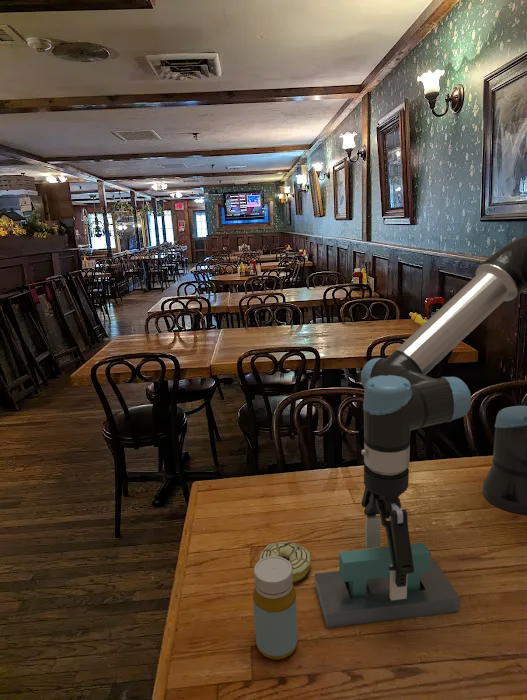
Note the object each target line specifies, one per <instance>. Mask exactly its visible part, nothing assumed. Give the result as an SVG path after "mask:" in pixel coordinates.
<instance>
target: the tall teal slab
mask: <svg viewBox="0 0 527 700" xmlns="http://www.w3.org/2000/svg"><path fill="white" fill-rule="evenodd" d="M410 545H411V552H412V559H413V566H414V573H409V574H407V592H412V591H420V573H427V572H430V560H431V555H432V554H431V552H430V550H429V548H428V547H427V545H426V544H425V543H424V542H418V543H410ZM338 560H339V561H338V564H339V567H338V568H339V569H338V571H340V574H341V577H342V579H343V582H349V596H350V599H353V598H362V597H367V596H366V580H367V579H375V578H384V577H390V570H389V567H390V565H391V564H392V559H391V554H390V549H389V546H382V547H381V546H380V547H374V548H364V549H356V550H346V551H345V550H344V551H339V552H338Z"/></svg>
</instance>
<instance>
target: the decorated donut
mask: <svg viewBox="0 0 527 700" xmlns="http://www.w3.org/2000/svg"><path fill="white" fill-rule="evenodd" d="M269 556H278V557H282V558H284V559H286V560H288V561H289V562H290V564H291V566H292V575H293V584H295V583H298V582H300V581H301V580H302V579H304V578H305V577H306V576H307V575H308V573H309V571H310V568H311V566H312V563H311V561H312V558H311V553H310V552H309V551H308V549H307V548H305V547H304V546H302V545H300V544H297V543H296V542H292V541H278V542H273V543H270V544H268V545H266V547H264V549H263V550H262V551H261V553H260V554H259V559H258V561H260V560H261V559H263V558H265V557H269Z"/></svg>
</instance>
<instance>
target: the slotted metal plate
mask: <svg viewBox="0 0 527 700" xmlns="http://www.w3.org/2000/svg"><path fill="white" fill-rule="evenodd" d="M314 587H315V591H316V595H317V598H318V603H319V605H320V609H321V612H322V615H323V619H324V622H325V627H326V629H328V628H329V629H330V628H339V627H345V626H354V625H361V624H371V623H379V622H387V621H396V620H403V619H410V618H417V617H426V616H427V617H428V616H434V615H436V616H437V615H443V614H450V613H452V614H453V613H459V612H460V600H461V598H460V596H459V594H458V593H457V591H456V590H455V588H454V586H453V585H452V583H450V581H449V579H448V578H447V576H446V575H445V573H444V572H443V569H442V568H441V567H440V564H438V562H437V561H436V559H430V572H427V573H420V591H412V592H407V599H399V600H391V599H390V577H384V578H375V579H367V580H366V597H362V598H353V599H350V596H349V582H343V579H342V577H341V574H340V571H339V570H336V571H335V570H334V571H326V572H317V573H314Z"/></svg>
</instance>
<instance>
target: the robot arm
mask: <svg viewBox="0 0 527 700" xmlns="http://www.w3.org/2000/svg"><path fill="white" fill-rule="evenodd" d="M523 292H527V234H526V235H522V236H521V237H518V238H517V239H514V240H513V241H511V242H510V243H507V244H506V245H504V246H502V247H501V248H500V249H499V250H497V251H495V252H494V253H493V254H492V255H490V256H489V257H488V258H487V259H485V260H484V261H483V262H482V263H481V264H480V265H479V266H478V267H477V269H476V270H475V276H474V277H473V278H472V279H471V280H470V281H468V282H467V284H466V285H464V286H463V287H462V288H461V289H460V290H459V291H458V292H457V293H456V294H455V295H453V297H451V298H450V299H449V300H448V301H447V302H446V303H445V304H444V305H442V306H441V308H440V309H438V310H437V311H436V312H435V313H434V314H433V315H432V316H431V317H430V318H429V319H428V320H427V321H425V322H424V323H423V324H422V325H421V326H420V327H419V328H417V330H416V331H415V332H413V333H412V334H411V335H410V336H409V337H408V338H407V339H406V340H405V341H404V342H403V343H402V344H400V346H398V347H397V348H396V349H395V350H394V351H393V352H392V353H391V354H390V355H388V356H387V357H386V358H384V357H383V358H382V357H376V358H372V359H370V360H368V361H367V362H366V363H365V364H364V366H363V368H362V370H361V373H360V382H361V384H362V387H363V388H364V392H363V393H364V394H363V403H362V405H363V438H364V439H363V443H364V444H363V446H364V448H363V449H361V450H360V451H361V455H362V456H364V457H363V458H364V459H363V462H364V465H363V484H364V486H365V487H364V492H363V495H362V499H361V506H362V508H364V510H363V511H364V515H365V525H364V526H365V532H364V534H365V549H371V548H380V547H381V526H382V527H384V528H385V534H386V539H387V543H388V547H389V549H390V554H391V559H392V564H391V565H390V567H389V570H390V599H391V600H399V599H407V574H409V573H414V566H413V559H412V552H411V545H410V544H411V539H410V531H409V524H408V523H409V521H408V517H409V516H408V515H409V514H408V511H407V509H406V508H405V509H401V508H402V503H401V499H400V496H401V495H402V494H404V493H405V492H406V491H407V490H408V489H409V477H410V476H409V475H410V469H409V466H410V452H411V441H410V440H411V431H414V430H418V429H421V428H426V427H431V426H434V425H440V424H444V423H450V422H452V421H454V420H458V419H460V418H462V417H465V416H467V414H468V413H469V411H470V410H471V406H472V393H471V391H470V389H469V387H468V385H467V384H466V383H465V382H464V381H463V380H462V379H461V378H459V377H457V376H441V377H440V378H433V377H431V376H428V375H427V374H428V373H429V372H430V371H431V370H433V368H434V367H435V366H436V365H437V364H439V363H440V362H441V361H442V360H443V359H444V358H445V357H446V356H447V355H449V353H450V352H452V350H454V348H456V347H457V346H458V345H459V344H460V343H461V342H462V341H463V340H464V339H465V338H466V337H467V336H468V335H470V333H472V332H473V331H474V330H475V329H476V328H477V327H478V326H479V325H480V324H481V323H482V322H483V321H484V320H485V319H486V318H487V317H488V316H489V315H491V313H493V312H494V311H495V310H496V309H497V308H498V307H499V306H500V305H501V304H502V303H504V302H509V301H512V300H514V299H515V298H517V296H519V294H521V293H523ZM482 485H483V486H482V494H483V496H484V498H485V499H486V501H488V502H489V503H491V504H492V505H494V506H495V507H497V508H500V509H502V510H504V511H508V512H511V513H515V514H521V515H527V405H513V406H507V407H504V408H502V409H500V410H499V411H498V412H497V415H496V418H495V424H494V435H493V453H492V463H491V466H490V468H489V471H487V475H486V477H485V479H484V480H483V484H482ZM387 519H389V520H387Z"/></svg>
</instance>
